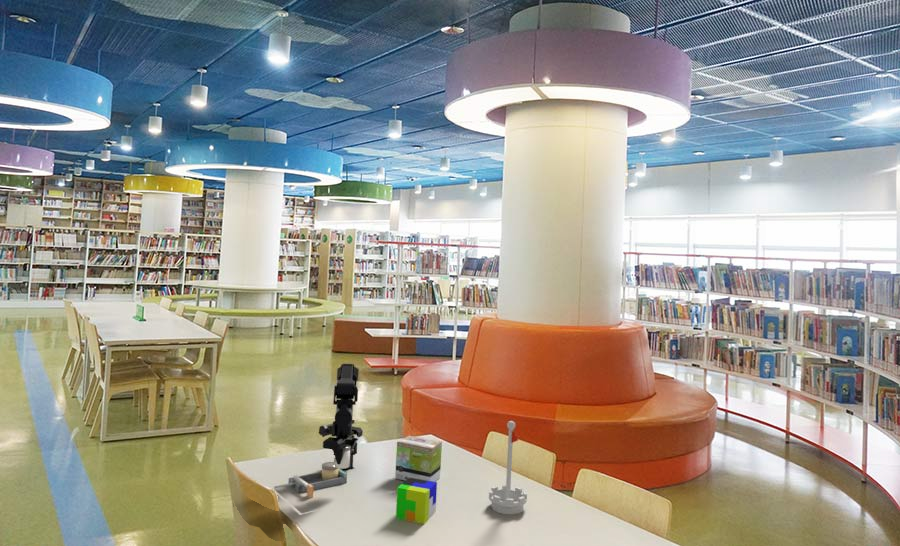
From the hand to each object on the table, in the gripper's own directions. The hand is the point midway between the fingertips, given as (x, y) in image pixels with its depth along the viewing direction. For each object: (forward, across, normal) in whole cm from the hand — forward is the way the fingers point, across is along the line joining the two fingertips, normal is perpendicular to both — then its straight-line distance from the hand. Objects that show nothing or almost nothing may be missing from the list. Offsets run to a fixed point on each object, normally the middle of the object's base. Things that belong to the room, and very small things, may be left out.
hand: (342, 461), depth 205 cm
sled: (+11, +8, -15) cm, 20 cm away
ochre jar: (+11, -8, -9) cm, 16 cm away
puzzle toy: (+12, +5, +30) cm, 33 cm away
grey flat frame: (+12, -4, -12) cm, 17 cm away
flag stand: (+12, -13, +57) cm, 60 cm away
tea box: (+12, -25, +19) cm, 34 cm away
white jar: (+2, 0, 0) cm, 2 cm away
